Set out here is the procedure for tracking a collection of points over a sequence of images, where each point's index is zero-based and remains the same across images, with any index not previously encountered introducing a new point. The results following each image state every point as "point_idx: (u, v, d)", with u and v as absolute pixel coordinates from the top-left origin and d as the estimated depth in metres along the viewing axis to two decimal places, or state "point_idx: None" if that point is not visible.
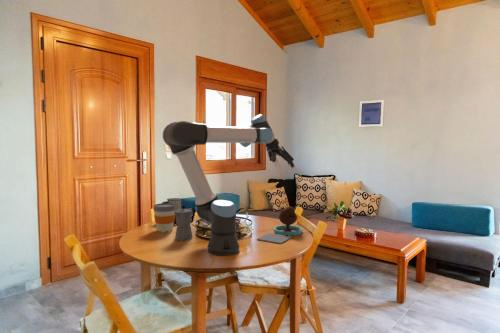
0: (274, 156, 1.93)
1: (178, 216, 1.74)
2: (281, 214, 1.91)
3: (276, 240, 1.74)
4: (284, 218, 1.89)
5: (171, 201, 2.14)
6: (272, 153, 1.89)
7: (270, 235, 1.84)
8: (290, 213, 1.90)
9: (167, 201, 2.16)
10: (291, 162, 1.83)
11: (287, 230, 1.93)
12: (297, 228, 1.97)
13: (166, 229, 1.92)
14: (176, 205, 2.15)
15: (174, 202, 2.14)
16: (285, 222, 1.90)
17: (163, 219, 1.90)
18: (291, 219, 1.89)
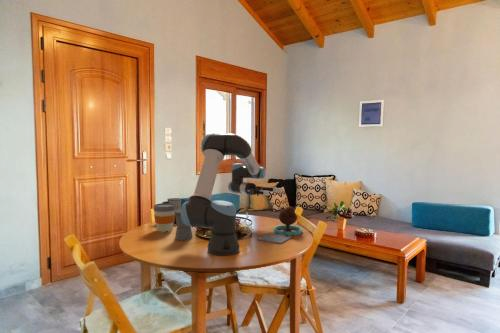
0: None
1: (178, 216, 1.74)
2: (281, 214, 1.91)
3: (276, 240, 1.74)
4: (284, 218, 1.89)
5: (171, 201, 2.14)
6: (255, 187, 2.06)
7: (270, 235, 1.84)
8: (290, 213, 1.90)
9: (167, 201, 2.16)
10: None
11: (287, 230, 1.93)
12: (297, 228, 1.97)
13: (166, 229, 1.92)
14: (176, 205, 2.15)
15: (174, 202, 2.14)
16: (285, 222, 1.90)
17: (163, 219, 1.90)
18: (291, 219, 1.89)
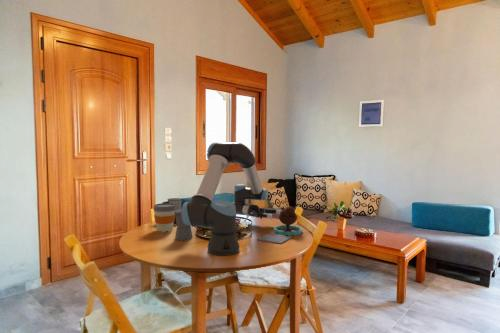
0: None
1: (178, 216, 1.74)
2: (281, 214, 1.91)
3: (276, 240, 1.74)
4: (284, 218, 1.89)
5: (171, 201, 2.14)
6: (258, 209, 2.05)
7: (270, 235, 1.84)
8: (290, 213, 1.90)
9: (167, 201, 2.16)
10: None
11: (287, 230, 1.93)
12: (297, 228, 1.97)
13: (166, 229, 1.92)
14: (176, 205, 2.14)
15: (174, 202, 2.14)
16: (285, 222, 1.90)
17: (163, 219, 1.90)
18: (291, 219, 1.89)
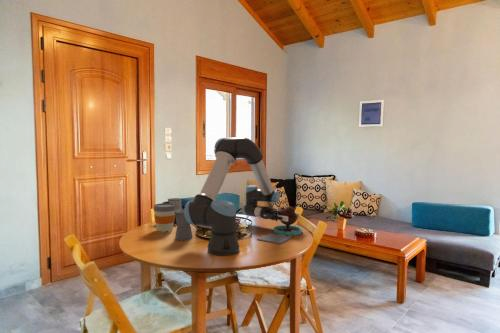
0: None
1: (178, 216, 1.74)
2: (281, 214, 1.91)
3: (276, 240, 1.74)
4: None
5: (171, 201, 2.14)
6: (272, 211, 1.98)
7: (270, 235, 1.84)
8: (290, 213, 1.90)
9: (168, 201, 2.16)
10: None
11: (287, 230, 1.93)
12: (297, 228, 1.97)
13: (166, 229, 1.92)
14: (176, 205, 2.14)
15: (174, 202, 2.14)
16: (285, 222, 1.90)
17: (163, 219, 1.90)
18: (291, 219, 1.89)
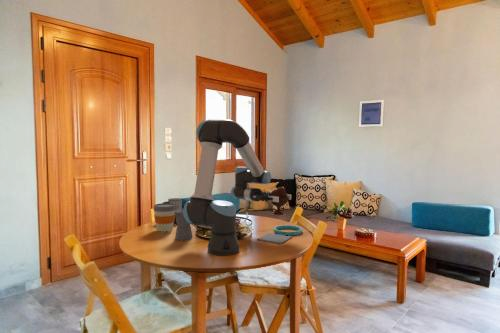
0: None
1: (178, 216, 1.74)
2: (271, 195, 1.80)
3: (276, 240, 1.74)
4: None
5: (172, 201, 2.13)
6: (262, 193, 1.87)
7: (270, 235, 1.84)
8: (281, 193, 1.78)
9: (168, 201, 2.15)
10: None
11: (278, 212, 1.81)
12: (297, 228, 1.97)
13: (166, 229, 1.92)
14: (177, 205, 2.14)
15: (175, 202, 2.14)
16: (276, 203, 1.78)
17: (163, 219, 1.90)
18: (282, 200, 1.77)
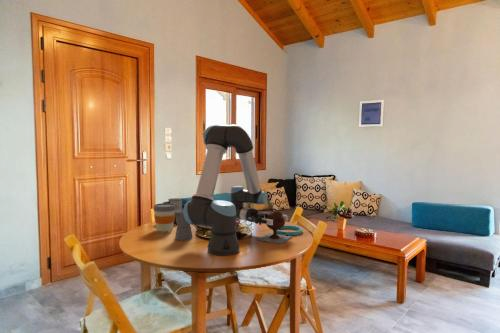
0: None
1: (178, 216, 1.74)
2: (268, 218, 1.77)
3: (276, 240, 1.74)
4: None
5: (172, 201, 2.13)
6: (257, 214, 1.84)
7: (270, 235, 1.84)
8: (277, 217, 1.75)
9: None
10: None
11: (274, 236, 1.78)
12: (297, 228, 1.97)
13: (166, 229, 1.92)
14: (177, 205, 2.14)
15: (175, 202, 2.13)
16: (272, 227, 1.75)
17: (163, 219, 1.90)
18: (278, 224, 1.74)
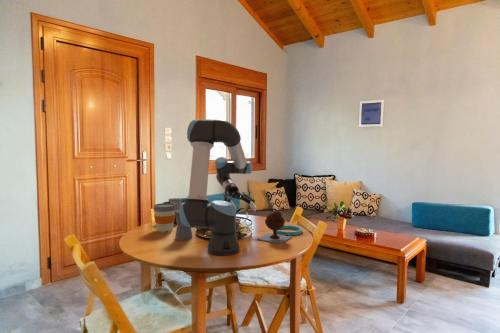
0: (231, 198, 1.91)
1: (178, 216, 1.74)
2: (267, 218, 1.77)
3: (276, 240, 1.74)
4: (270, 223, 1.74)
5: (172, 201, 2.13)
6: (233, 193, 1.94)
7: (270, 235, 1.84)
8: (277, 217, 1.75)
9: None
10: (252, 203, 1.95)
11: (274, 236, 1.78)
12: (297, 228, 1.97)
13: (166, 229, 1.92)
14: (177, 205, 2.14)
15: (175, 202, 2.13)
16: (271, 227, 1.75)
17: (163, 219, 1.90)
18: (278, 224, 1.74)
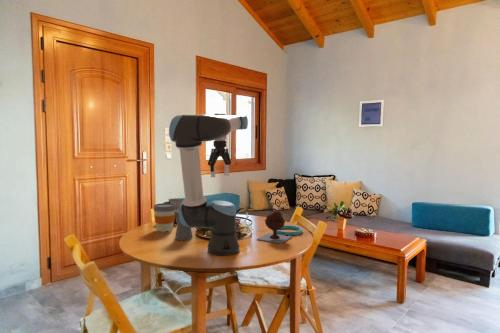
0: None
1: (178, 216, 1.74)
2: (267, 218, 1.77)
3: (276, 240, 1.74)
4: (270, 223, 1.74)
5: (172, 201, 2.13)
6: (220, 153, 1.93)
7: (270, 235, 1.84)
8: (277, 217, 1.75)
9: None
10: None
11: (274, 236, 1.78)
12: (297, 228, 1.97)
13: (166, 229, 1.92)
14: (177, 205, 2.14)
15: (175, 202, 2.13)
16: (271, 227, 1.75)
17: (163, 219, 1.90)
18: (278, 224, 1.74)
